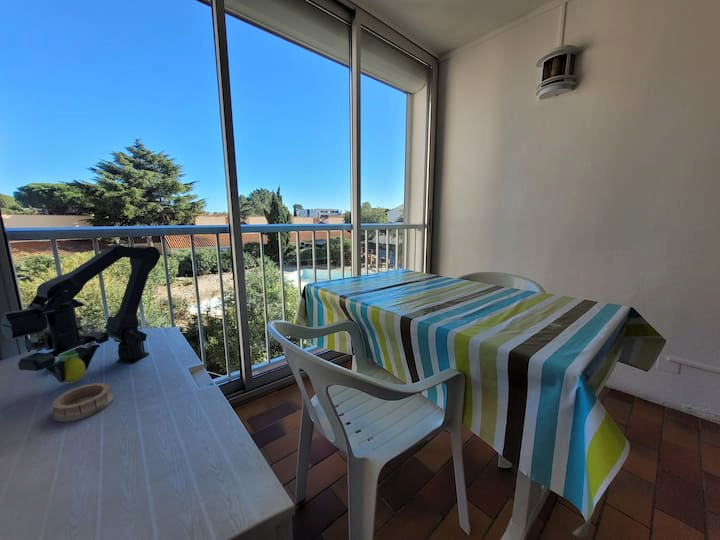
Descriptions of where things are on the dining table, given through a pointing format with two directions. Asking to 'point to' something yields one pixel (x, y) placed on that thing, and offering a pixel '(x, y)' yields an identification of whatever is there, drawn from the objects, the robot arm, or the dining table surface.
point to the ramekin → (69, 355)
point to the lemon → (74, 369)
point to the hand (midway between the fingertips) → (73, 376)
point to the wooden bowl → (81, 402)
